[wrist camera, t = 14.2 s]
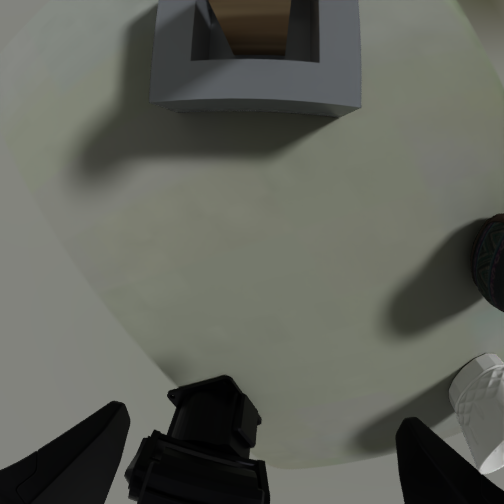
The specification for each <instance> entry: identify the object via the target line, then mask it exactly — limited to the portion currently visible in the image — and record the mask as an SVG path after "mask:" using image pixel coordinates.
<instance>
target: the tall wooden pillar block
mask: <svg viewBox="0 0 504 504" xmlns="http://www.w3.org/2000/svg"><path fill="white" fill-rule="evenodd" d="M208 1H209V3H210V5H211V7H212V9H213V11H214V13H215V15H216V17H217V20H218V22H219V24H220V26H221V28H222V30H223V32H224V35H225V37H226V39H227V41H228V43H229V45H230V48H231V50H232V52H233V54H234V55H281V56H285V51H286V42H287V33H288V24H289V15H290V6H291V0H208Z"/></svg>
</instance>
